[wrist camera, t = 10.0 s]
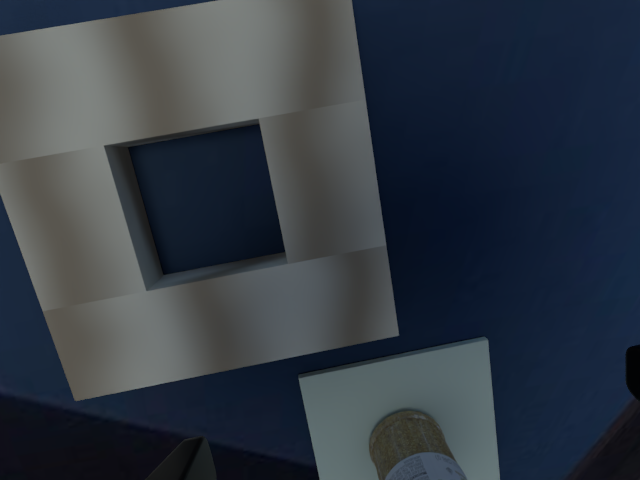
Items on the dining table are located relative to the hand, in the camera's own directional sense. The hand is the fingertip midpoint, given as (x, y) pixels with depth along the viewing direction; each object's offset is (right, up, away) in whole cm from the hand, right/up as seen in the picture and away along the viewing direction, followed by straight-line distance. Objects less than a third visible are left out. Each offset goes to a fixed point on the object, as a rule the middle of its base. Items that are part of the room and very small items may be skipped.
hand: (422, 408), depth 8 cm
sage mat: (+3, -8, +15) cm, 18 cm away
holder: (-8, +5, +12) cm, 15 cm away
